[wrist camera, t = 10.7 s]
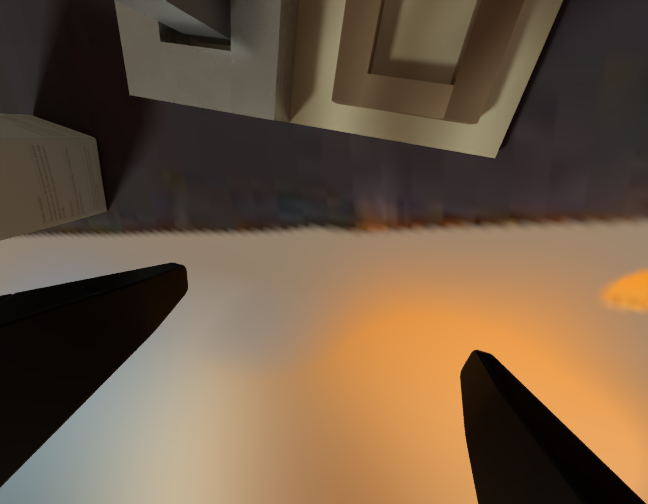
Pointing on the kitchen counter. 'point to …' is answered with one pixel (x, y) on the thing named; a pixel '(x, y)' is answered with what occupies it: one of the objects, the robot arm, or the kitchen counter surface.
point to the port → (216, 60)
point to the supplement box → (46, 175)
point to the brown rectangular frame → (420, 96)
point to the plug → (190, 17)
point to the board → (412, 69)
